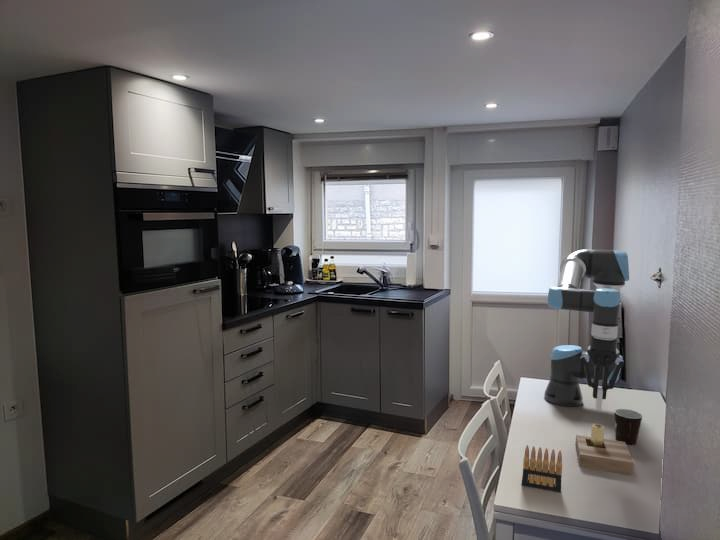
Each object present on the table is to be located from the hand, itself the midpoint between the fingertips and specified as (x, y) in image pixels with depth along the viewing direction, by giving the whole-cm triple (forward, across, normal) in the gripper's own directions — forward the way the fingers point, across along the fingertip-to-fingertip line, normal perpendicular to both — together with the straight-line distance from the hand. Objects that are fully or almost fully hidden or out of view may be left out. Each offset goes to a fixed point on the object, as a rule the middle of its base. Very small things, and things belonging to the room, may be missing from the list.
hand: (598, 408), depth 166 cm
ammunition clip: (+16, -17, -28) cm, 36 cm away
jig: (+16, +2, -3) cm, 16 cm away
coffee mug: (+16, +11, +14) cm, 24 cm away
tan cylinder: (+16, 0, 0) cm, 16 cm away
